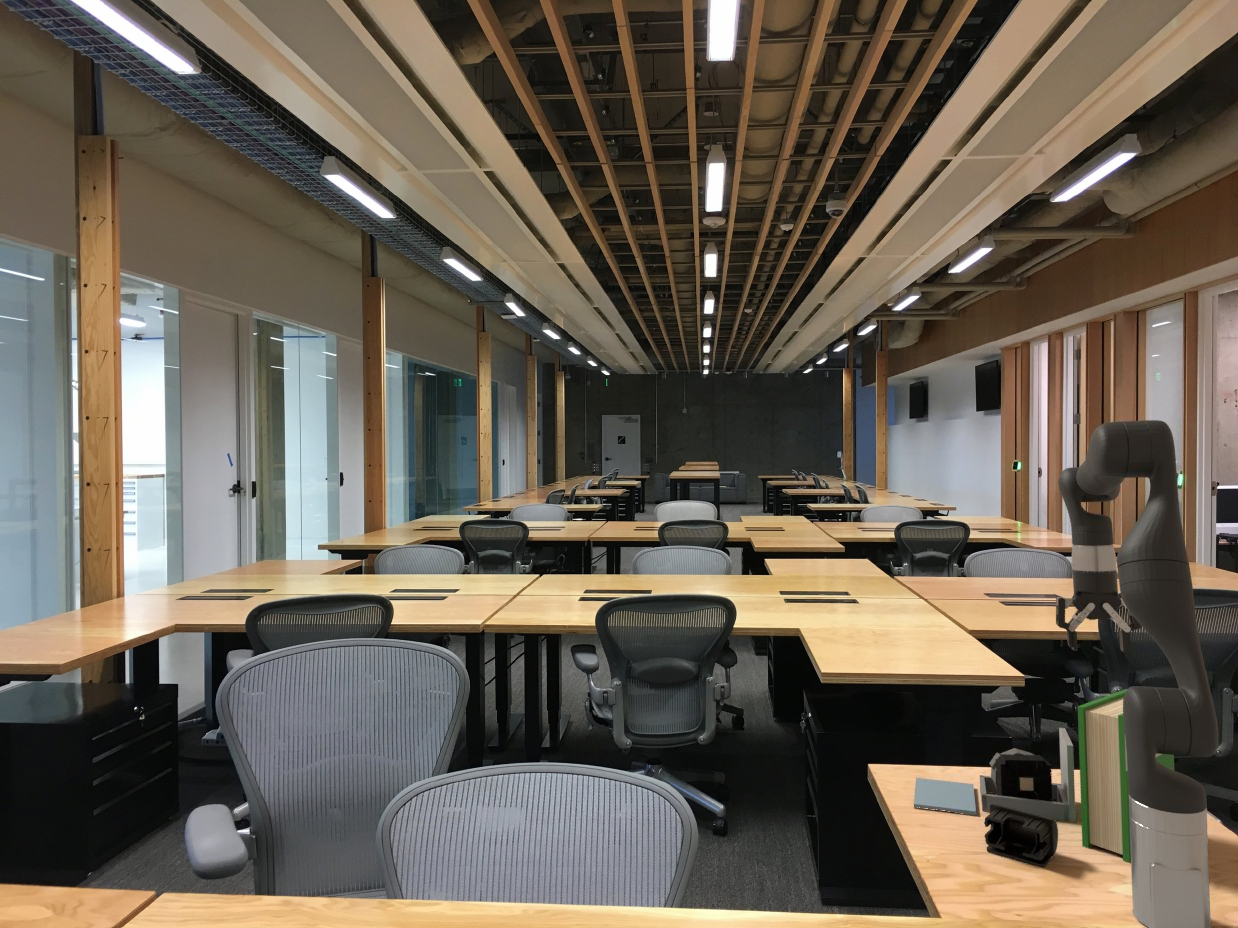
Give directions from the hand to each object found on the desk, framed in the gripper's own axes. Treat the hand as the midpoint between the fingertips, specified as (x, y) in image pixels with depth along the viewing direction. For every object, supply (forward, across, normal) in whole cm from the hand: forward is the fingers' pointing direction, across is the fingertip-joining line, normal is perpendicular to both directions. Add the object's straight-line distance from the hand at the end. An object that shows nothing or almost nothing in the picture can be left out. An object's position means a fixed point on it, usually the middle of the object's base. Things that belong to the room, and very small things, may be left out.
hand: (1099, 650), depth 157 cm
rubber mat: (+29, -30, -7) cm, 42 cm away
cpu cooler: (+29, -16, -7) cm, 34 cm away
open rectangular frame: (+29, -16, -7) cm, 34 cm away
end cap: (+30, -19, -27) cm, 45 cm away
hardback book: (+30, -1, -18) cm, 34 cm away
